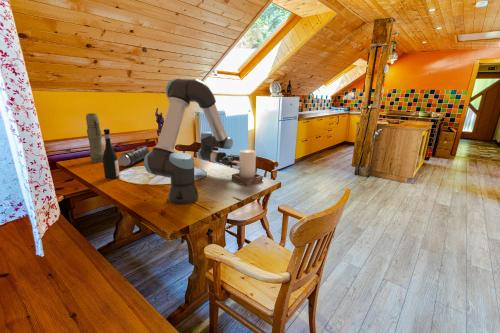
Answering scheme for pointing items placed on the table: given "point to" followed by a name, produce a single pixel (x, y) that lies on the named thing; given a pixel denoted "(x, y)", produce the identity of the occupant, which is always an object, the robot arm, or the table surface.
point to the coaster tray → (247, 182)
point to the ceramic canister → (247, 164)
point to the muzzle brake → (133, 156)
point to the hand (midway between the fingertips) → (247, 162)
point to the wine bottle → (110, 159)
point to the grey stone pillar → (94, 138)
